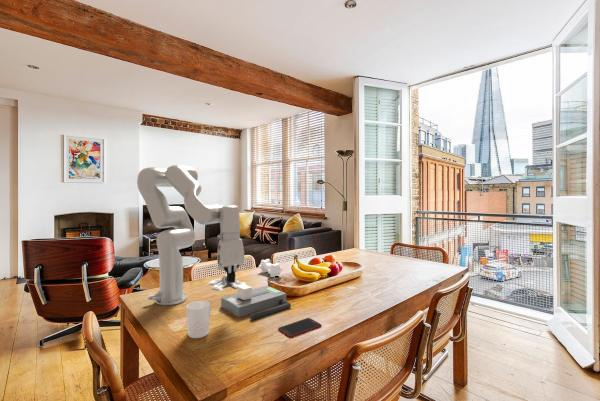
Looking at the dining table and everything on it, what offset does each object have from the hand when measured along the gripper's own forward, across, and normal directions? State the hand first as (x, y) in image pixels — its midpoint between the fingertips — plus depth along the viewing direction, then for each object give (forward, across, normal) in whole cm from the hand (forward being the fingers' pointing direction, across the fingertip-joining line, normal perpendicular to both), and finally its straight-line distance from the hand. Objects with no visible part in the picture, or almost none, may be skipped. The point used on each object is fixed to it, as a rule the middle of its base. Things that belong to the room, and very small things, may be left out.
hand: (231, 281), depth 120 cm
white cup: (+13, -17, -8) cm, 23 cm away
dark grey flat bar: (+13, +12, -9) cm, 19 cm away
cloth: (+13, +17, +34) cm, 40 cm away
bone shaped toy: (+12, +44, +33) cm, 56 cm away
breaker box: (+12, +12, +1) cm, 17 cm away
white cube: (+8, +7, +1) cm, 11 cm away
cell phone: (+14, +12, -28) cm, 33 cm away
